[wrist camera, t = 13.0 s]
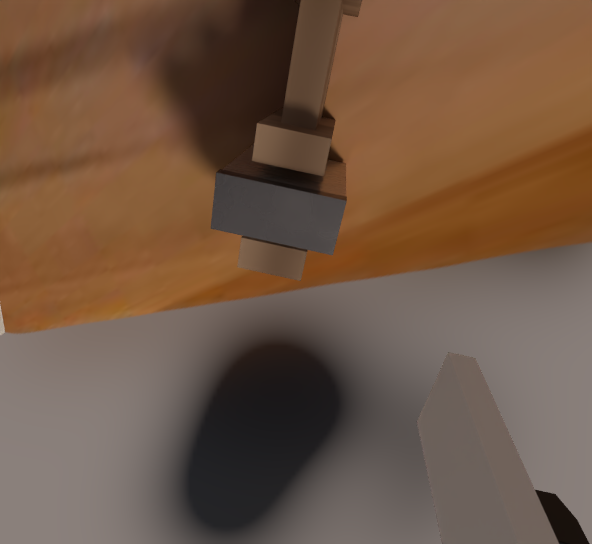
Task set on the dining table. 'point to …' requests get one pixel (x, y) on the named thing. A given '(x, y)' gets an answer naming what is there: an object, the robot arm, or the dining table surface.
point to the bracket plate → (280, 203)
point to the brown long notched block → (299, 123)
